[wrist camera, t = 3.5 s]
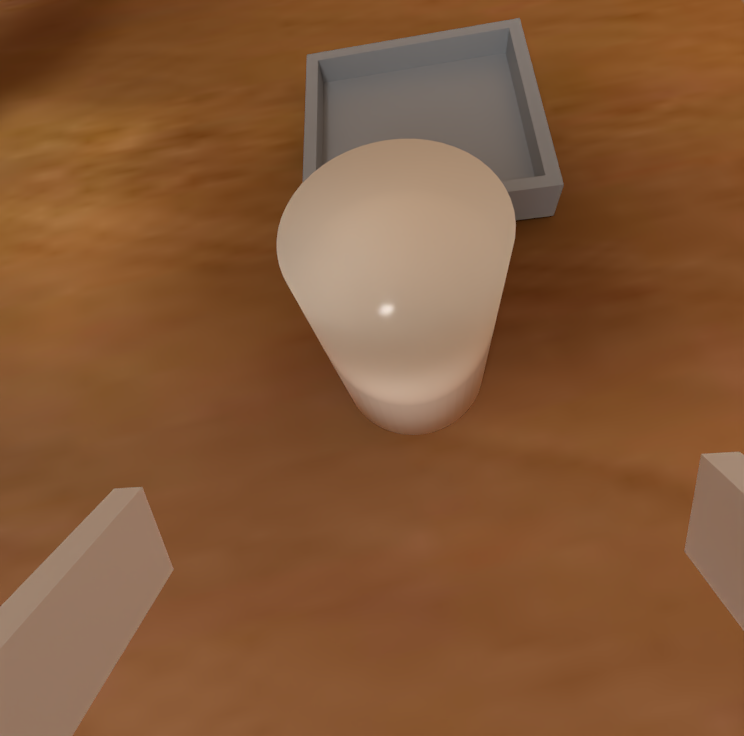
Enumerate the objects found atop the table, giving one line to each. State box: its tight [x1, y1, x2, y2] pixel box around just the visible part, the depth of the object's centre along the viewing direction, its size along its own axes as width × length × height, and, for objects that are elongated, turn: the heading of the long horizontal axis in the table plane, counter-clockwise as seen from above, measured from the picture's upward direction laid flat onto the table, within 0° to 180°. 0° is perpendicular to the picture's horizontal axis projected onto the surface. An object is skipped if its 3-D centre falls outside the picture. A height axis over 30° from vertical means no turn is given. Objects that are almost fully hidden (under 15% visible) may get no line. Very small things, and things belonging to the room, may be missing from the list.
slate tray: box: [303, 18, 564, 220], centre depth 36 cm, size 18×18×3 cm
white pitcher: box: [277, 139, 516, 435], centre depth 24 cm, size 9×12×14 cm
